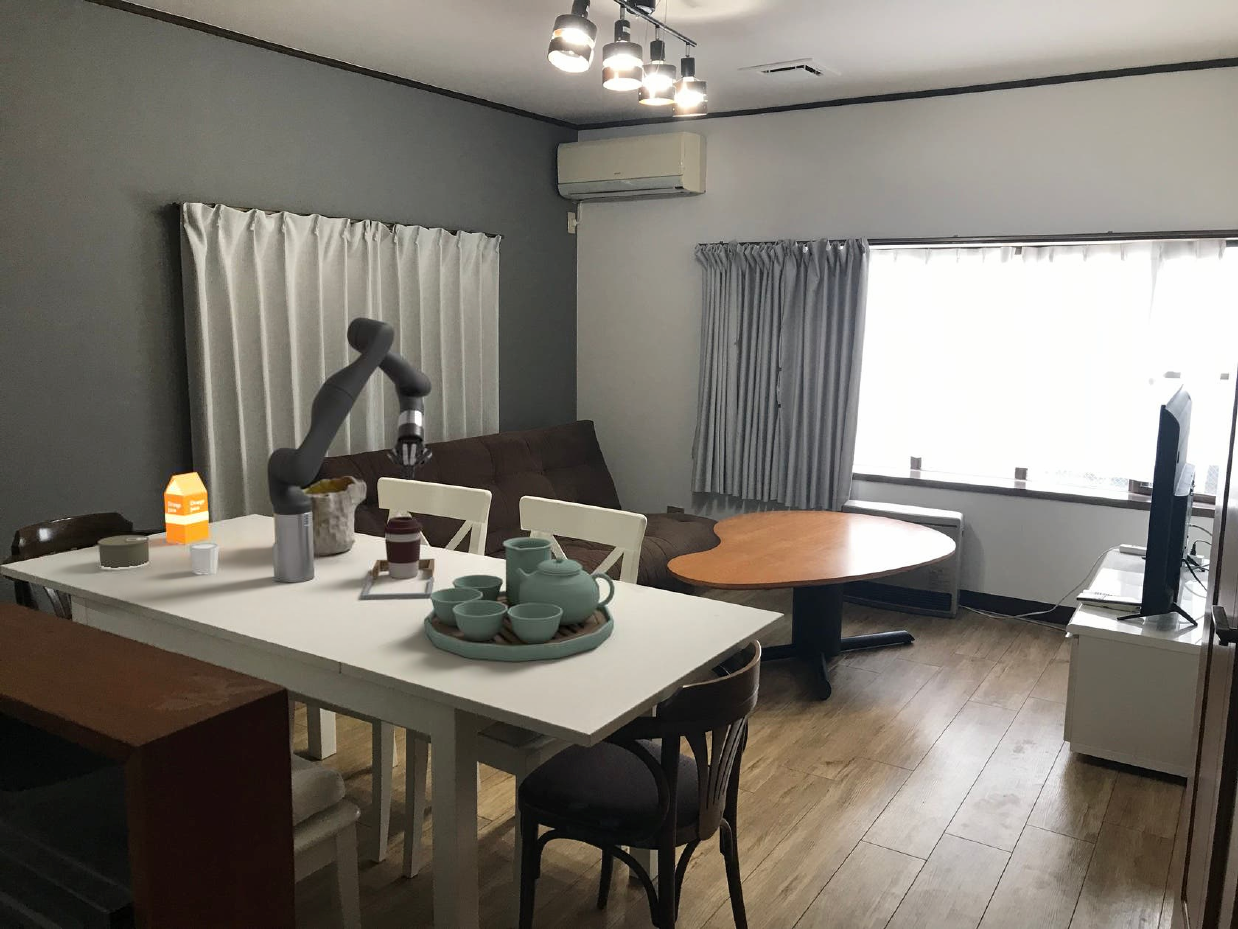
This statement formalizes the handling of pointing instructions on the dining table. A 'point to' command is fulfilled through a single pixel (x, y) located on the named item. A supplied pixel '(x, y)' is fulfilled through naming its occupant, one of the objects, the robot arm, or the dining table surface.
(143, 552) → the can
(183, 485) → the orange juice
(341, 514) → the ceramic vessel
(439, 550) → the dining table surface
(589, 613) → the tea set
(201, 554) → the shot glass
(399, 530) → the coffee cup
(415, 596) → the grey bay
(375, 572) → the cup holder
